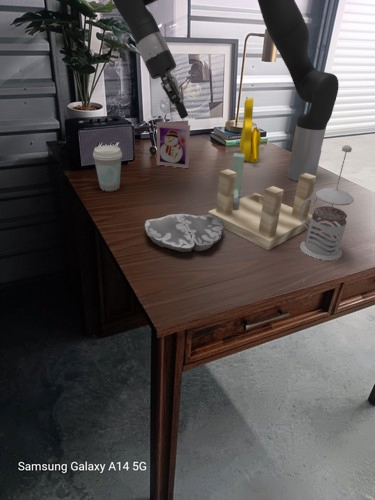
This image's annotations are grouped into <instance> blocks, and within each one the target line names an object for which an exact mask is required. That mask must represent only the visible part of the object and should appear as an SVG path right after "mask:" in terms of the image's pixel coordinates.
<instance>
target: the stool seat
mask: <svg viewBox="0 0 375 500" xmlns="http://www.w3.org/2000/svg"><path fill="white" fill-rule="evenodd" d="M218 173H219V176H218V183H217V184H218V185H217V194H216V195H217V197H216V207H215V208H213V209H211V210H208V211H207V215H211V216H215V217H217V218H219V220H221V221H222V222H223V223H224V226H225V228H224V230H227V231H228V232H231V233H233V234H234V235H237V236H238V237H241V238H242V239H245V240H247V241H249V242H251V243H253V244H255V245H257V246H259V247H261V248H263V249H265V250H266V251H269V250H271V249H274V247H276V246H279V245H281V244H282V243H284V242H286V241H288V240H290V239H291V238H293V237H295V236H297V235H299V234H300V233H302V232H304V231H307V227H308V229H309V225H308V224H307V223H306V222H308V223H309V224H310V221H311V217H312V215H313V214H310V213H309V212H310V208H311V207H310V206H311V203H312V200H313V199H312V198H310V197H313V196H314V195H313V193H314V189H315V185H316V181H317V175H316V176H314V175H311V174H307V173H305V174H302V175H300V176H299V180H298V181H297V187H296V191H295V197H294V200H293V206H289V205H287V204H285V203H282V201H283V197H284V192H285V191H284V189H282V188H279V187H276V186H274V185H272V186H270V187H267V188H265V189H264V192H263V194H260V193H258V192H253V193H251V194H249V195H246V196H243V197H240V198H239V199H240V204H239V208H238V209H233V201H234V192H235V183H236V174H237V172H234V171H232V169H229V168H227V169H224V170H220V171H219V172H218ZM308 198H310V199H312V200H309V201H307V202H305V200H306V199H308ZM304 202H305V204H304V205H303V210H302V214H303V218H304V219H305V221H306V222H305V221H304V220H303V218H302V214H301V211H300V207H301V205H302V204H303V203H304ZM301 209H302V207H301ZM299 211H300V217H301V221H302V222H303V223H304V224H305V225H306V226H307V227H305V226H304V225H303V224H302V222H301V221H300V218H299Z"/></svg>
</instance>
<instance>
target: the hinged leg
mask: <svg viewBox="0 0 375 500" xmlns="http://www.w3.org/2000/svg"><path fill="white" fill-rule="evenodd" d="M244 165H245V161H244V154H241V152H238V153H237V152H233V156H232V166H231V171H234V172H237V174H236V183H235V192H234V201H233V209H238V208H239V204H240V199H241V198H239V195H241V189H242V181H243V174H244V173H243V172H244Z"/></svg>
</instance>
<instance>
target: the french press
mask: <svg viewBox="0 0 375 500" xmlns="http://www.w3.org/2000/svg"><path fill="white" fill-rule="evenodd" d="M352 149H353V148H352V147H351V146H350V145H349V144H347V145H343V146H342V148H341V151H342V152H344V156H343V157H344V158H343V161H342V164H341V168H340V172H339V176H338V180H337V183H336V184H337V185H336V187H324V188H322V189H321V188H320V189H319V190H317V191H316V192H315V195H312V197H310V198H312V199H310V198H308V199H306V200H305V202H307V201H309V200H311V201H312V200H313V205H315V204H316V203H317V201H318V200H320V201H321V202H324V203H326V204H329V205H331V206H329V205H325V206H324V205H322V206H317V207H316V208H314V209H313V213H312V214H311V215H312V217H311V221H310V224H309V223H308V222H306V221H305V219H304V218H303V214H302V210H303V205H304V204H305V202H304V203H303V204H302V205H301V207H302V209H301V207H300V211H301V214H302V218H303V220H304V221H305V222H306V223H307V224H308V225H309V228H308V227H307V226H306V225H305V224H304V223H303V222H302V221H301V217H300V211H299V218H300V221H301V222H302V224H303V225H304V226H305V227H307V229H306V234H305V238H304V240H303V241H302V242H301V243H300V244H299V247H300V250H301V252H302V253H304V254H305V255H306V254H307V255H306V256H308V255H309V256H308V257H310V256H312V257H314V258H313V259H315V258H317V259H316V260H319V259H322V260H321V261H325V260H331V259H336V258H338V257H339V256H341V253H342V254H343V251H342V250H341V247H340V246H341V243H342V240H343V236H344V233H345V230H346V225H347V220H346V218H347V217H348V215H347V213H346V212H345V211H344V210H342V209H340V208H336V207H334V206H350V205H351V204H353V203H354V201H355V198H354V196H353V195H351V193H349V192H348V191H347V190H344V189H341V188H339V184H340V180H341V175H342V171H343V167H344V163H345V160H346V157H347V156H346V155H347V153H351V152H352V151H353V150H352ZM333 205H334V206H333ZM319 222H320V223H319ZM327 222H328V223H327ZM336 222H337V223H336ZM332 225H333V226H332ZM322 231H323V232H322ZM312 257H311V258H312ZM341 257H342V256H341ZM336 260H337V259H336Z"/></svg>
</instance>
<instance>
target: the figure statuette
mask: <svg viewBox="0 0 375 500" xmlns="http://www.w3.org/2000/svg"><path fill="white" fill-rule="evenodd" d="M243 108H244V109H243V111H244V112H243V120H242V122H243V123H242V124H243V125H242V129H241V130H242V131H241V135H240V139H239V148H240V149H239V150H240V154H244V162H250V163H257V162H258V161H259V160H258V159H259V156H260V150H259V149H260V145H261V142H262V137H261V132H260V130H259V129H258V128H257V127H254V128H253V115H254V98H251V97H249V98H248V97H246V99H245V101H244V107H243Z"/></svg>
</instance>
